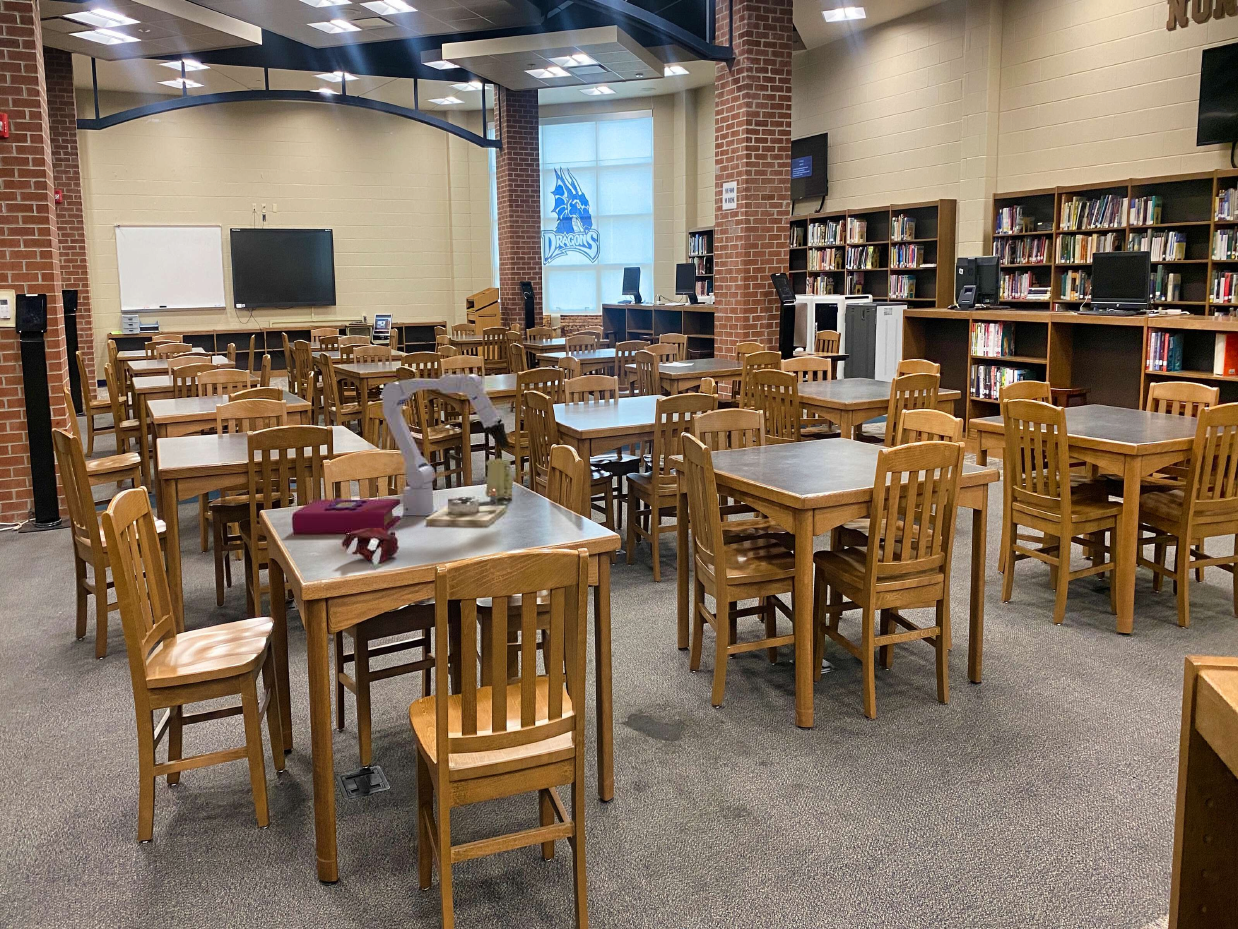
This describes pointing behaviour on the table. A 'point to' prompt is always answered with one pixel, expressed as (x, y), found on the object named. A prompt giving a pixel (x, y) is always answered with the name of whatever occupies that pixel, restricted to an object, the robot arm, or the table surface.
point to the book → (344, 516)
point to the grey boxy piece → (469, 504)
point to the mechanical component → (499, 478)
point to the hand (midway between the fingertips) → (505, 446)
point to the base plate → (467, 517)
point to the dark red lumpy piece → (371, 544)
